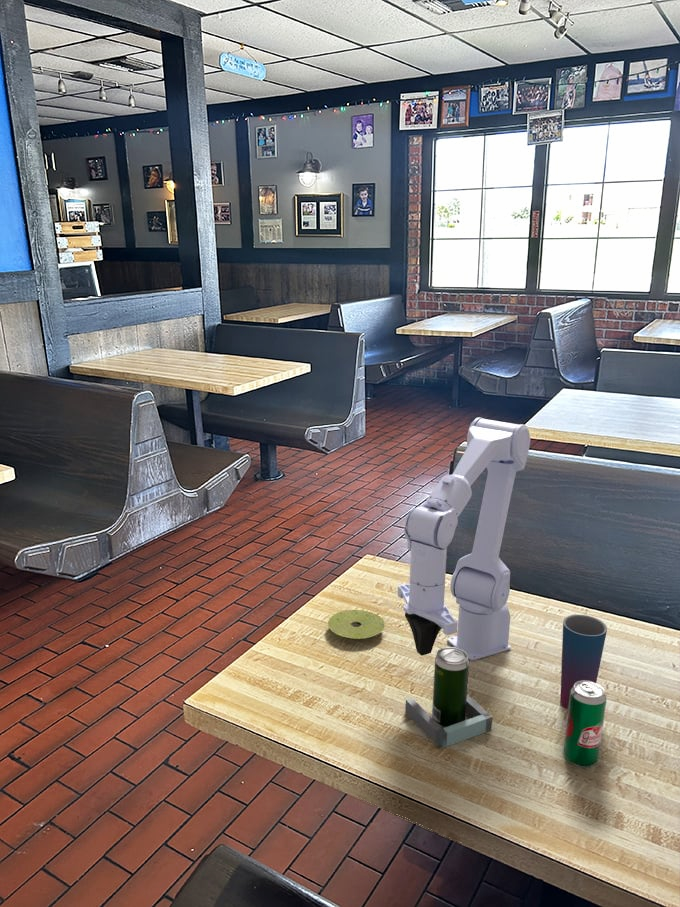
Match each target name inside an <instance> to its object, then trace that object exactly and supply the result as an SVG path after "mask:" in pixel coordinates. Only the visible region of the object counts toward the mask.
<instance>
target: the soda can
mask: <svg viewBox="0 0 680 907" xmlns="http://www.w3.org/2000/svg"><path fill="white" fill-rule="evenodd" d="M606 705H607V696H606V694H605V689H604V687H602V686H601V685H600V684H599V683H597V682H596V683H595V682H592V681H587V680H582V681H578V682H576V683H575V684H574V686H573V688H572V689H571V690H570V698H569V706H568V710H567V715H566V716H567V717H566V726H565V733H564V734H565V735H564V743H563V749H562V750H563V752H562V753H563V755H564V757H565V758H566V759H567V760H568V761H569V762H570V763H571V764H572V765H575V766H578V767H581V768H589V767H592V766H594V765H595V764H597V763H598V762H599V759H600V752H601V742H602V736H603V735H602V734H603V727H604V721H605V713H606Z"/></svg>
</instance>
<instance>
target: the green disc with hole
mask: <svg viewBox="0 0 680 907" xmlns="http://www.w3.org/2000/svg"><path fill="white" fill-rule="evenodd" d="M327 625H328V628H329V629H330V631H331V632H333V633H334V634H335V635H337V636H340V637H344V638H348V639H351V640H352V639H354V640H356V639H358V640H361V639H369V638H372V637H374V636H377V635H379V634H381V632H383V631H384V628H385V621H384V619H383V618H382V617H381V616H380V615H378V614H377V613H374V612H372V611H368V610H362V609H348V610H342V611H338V612H336V613H335V614H333V615H332V616H331V617H329V619H328V622H327Z"/></svg>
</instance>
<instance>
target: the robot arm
mask: <svg viewBox="0 0 680 907" xmlns="http://www.w3.org/2000/svg"><path fill="white" fill-rule="evenodd" d="M530 445H531V436H530V431H529V428H528V426H527V425H525V424H521V423H520V424H518V423H512V422H505V421H498V420H492V419H486V418H483V417H481V416H480V417H475V419H473V421H472V422H471V423H470V425H469V428H468V431H467V436H466V449H465V451H464V452H463V454H462V456H461V458H460V460H459V461H458V463H457V465H456V468H454V471H453V473H452V474H446V475H444V476H442V477H441V479H440V480H439V482H438V483H437V484H436V486H435V487H434V488H433V490H432V492H431V493H430V494H429V496H428V497H427V498H426V500H425V501H424V502H423V504H422V505H419V506H417V507H413V508H412V509H411V510H410V511H409V513H408V515H407V517H406V520H405V525H404V527H403V532H404V533H403V534H404V536H405V538H406V540H407V549H408V551H409V552H410V558H409V560H410V564H409V566H410V567H409V584H408V583H406V584H401V585H398V586H397V597H398V598H399V599H403V600H404V603H405V604H404V605H403V607H402V608H403V609H402V610H403V611H404V617H405V618H406V620H407V622H408V625H409V627H410V630H411V633H412V636H413V640H414V646H415V650H416V653H417V654H419V655H420V656H426V655H429V654H432V651H433V648H434V645H435V642H436V640H437V637H438V635H439V633H440V631H441V630H442V631H443V632H442V633H443V634H444V635H445V636H450V635H453V634H456V633H457V635H456V636H455V635H454V636H452V637H449V638H447V642H448V644H450V645H452V647H455V648H459V649H461V650H463V651H465V652H466V653H467V655H468V660H469V661H477V660H479V659H482V658H486V657H489V656H493V655H495V654H499V653H502V652H505V651H509V650H510V649H511V648H512V646H511V645H510V644H509V639H510V638H509V637H510V627H511V626H510V625H511V613H510V610H509V606H508V605H507V601H508V599H509V596H510V589H511V588H510V587H511V586H510V581H511V580H510V579H511V570H510V569H509V568H508V566H507V565H506V564H505V563H504V562H503V560H501V558H500V556H499V555H500V550H501V547H502V542H503V536H504V531H505V527H506V522H507V517H508V511H509V507H510V502H511V498H512V492H513V490H514V489H513V487H514V483H515V480H516V479H515V478H516V474H517V472H519V471H522V470H525V466H526V464H527V460H528V456H529V451H530ZM485 469H487V477H486V481H485V487H484V492H483V496H482V500H481V501H482V502H481V506H480V511H479V517H478V521H477V526H476V529H475V530H476V531H475V536H474V540H473V546H472V550H471V553H469V554H466V555H464V556H461V558H459V559H458V560H457V563H456V566H455V570H454V572H453V574H452V575H451V579H450V584H449V585H450V586H449V587H450V588H449V589H450V592H451V596H452V597H453V598H455V603H456V604H458V619H457V620H456V619H455V618H454V617H453V615H452V614H451V612H450V609H449V608H448V606H447V605H446V603H445V592H446V591H445V589H446V568H447V553H448V552H447V550H448V549H447V548H448V546H449V545H450V543H452V540H453V538H454V535H455V531H456V529H457V528H456V527H457V526H458V523H459V521H458V520H459V519H458V517H459V516H460V515H461V514H462V512H463V511H464V508H465V507H466V506H467V504H469V503H468V502H470V499H471V498H472V494H473V492H472V487H471V486H472V485H473V484H474V482H475V481H476V480H477V479H478V478H479V476H480V475H481V474H482V473H483V471H484V470H485Z"/></svg>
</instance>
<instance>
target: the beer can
mask: <svg viewBox="0 0 680 907" xmlns="http://www.w3.org/2000/svg"><path fill="white" fill-rule="evenodd" d="M469 669H470V659H469V658H468V655H467V653H466V652H465V651H463V650H461V649H459V648H455V647H454V646H446V647H445V646H444V647H442V648H440V649H438V651H437V652H436V656H435V657H434V675H433V689H432V690H433V691H432V692H433V693H432V695H433V696H432V708H431V709H432V710H431V712H432V713H431V717H432V718H433V719H434V720H435V721H436V722H437V723H438V724H439V725H440V726H441V727H442V728H445V727H448V726H451V725H454V724H457V723H459V722H462V721H465V720H466V716H467V715H466V702H467V695H468V685H469V673H470V672H469Z"/></svg>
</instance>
